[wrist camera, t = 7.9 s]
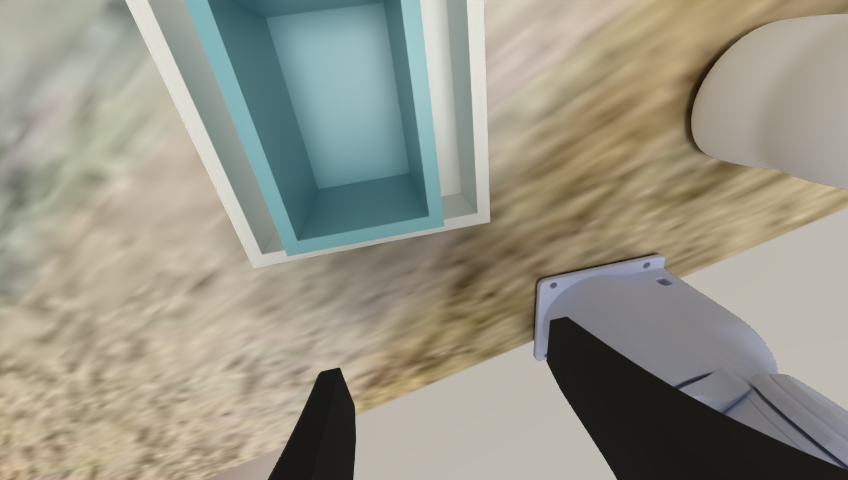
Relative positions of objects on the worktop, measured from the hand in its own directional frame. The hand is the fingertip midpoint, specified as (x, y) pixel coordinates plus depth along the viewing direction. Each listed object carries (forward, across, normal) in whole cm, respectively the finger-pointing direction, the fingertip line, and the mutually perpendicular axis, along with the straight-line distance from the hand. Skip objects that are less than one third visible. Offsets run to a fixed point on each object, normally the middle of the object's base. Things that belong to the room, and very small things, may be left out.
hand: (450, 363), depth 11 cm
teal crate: (+9, +2, -8) cm, 12 cm away
